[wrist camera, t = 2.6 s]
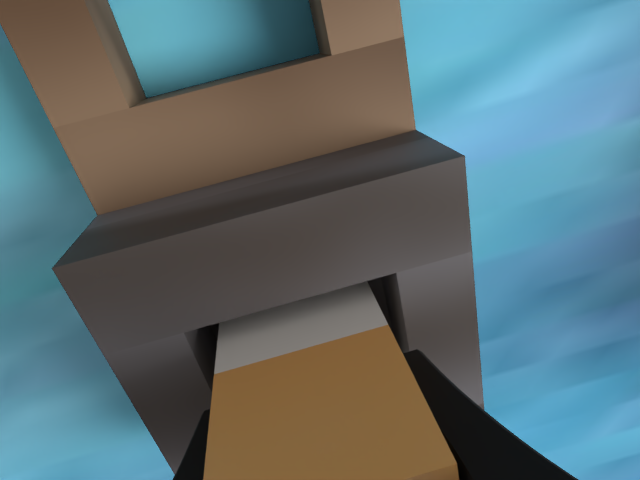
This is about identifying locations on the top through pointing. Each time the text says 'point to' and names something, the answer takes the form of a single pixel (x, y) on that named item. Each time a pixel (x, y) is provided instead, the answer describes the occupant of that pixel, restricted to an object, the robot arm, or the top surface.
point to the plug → (320, 397)
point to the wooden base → (249, 199)
